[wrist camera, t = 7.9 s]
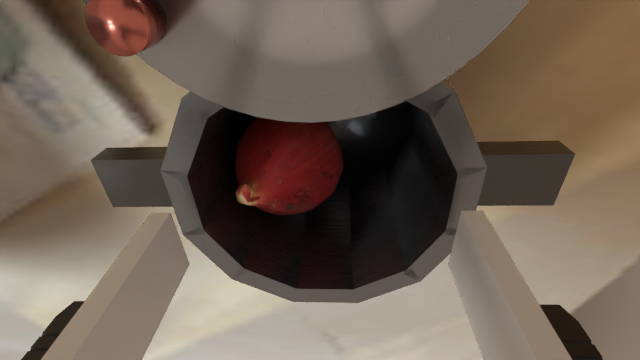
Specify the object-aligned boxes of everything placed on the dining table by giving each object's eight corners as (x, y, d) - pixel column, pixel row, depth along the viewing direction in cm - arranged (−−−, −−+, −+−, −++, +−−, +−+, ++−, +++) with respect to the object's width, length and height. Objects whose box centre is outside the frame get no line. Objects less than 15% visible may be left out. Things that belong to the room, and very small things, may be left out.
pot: (197, 194, 25) (130, 298, 17) (144, 16, 19) (-4, 53, 11) (471, 192, 24) (537, 305, 16) (519, 0, 17) (673, 27, 9)
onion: (381, 142, 19) (323, 221, 13) (324, 189, 23) (260, 267, 17) (312, 69, 19) (221, 118, 13) (266, 129, 23) (179, 188, 17)
